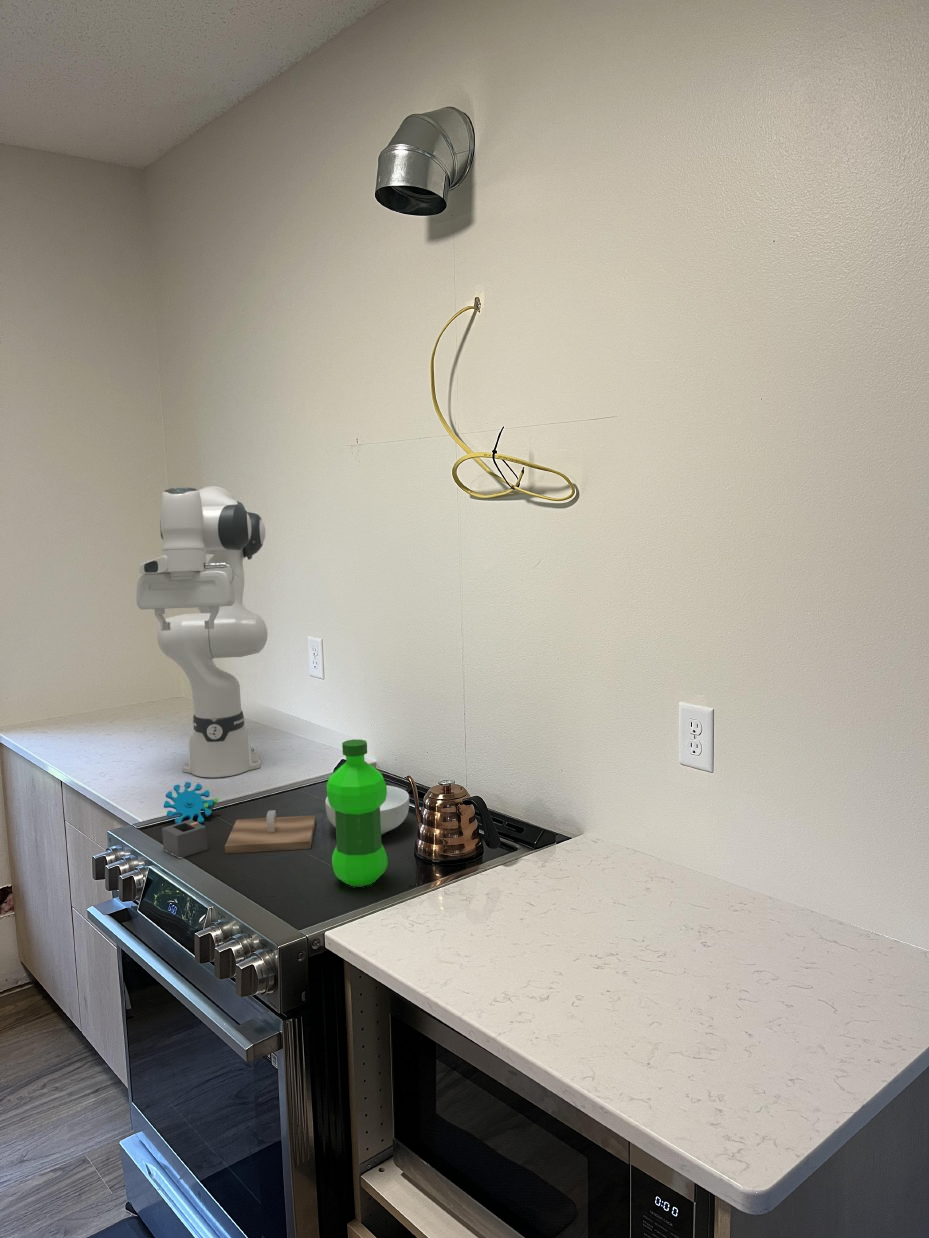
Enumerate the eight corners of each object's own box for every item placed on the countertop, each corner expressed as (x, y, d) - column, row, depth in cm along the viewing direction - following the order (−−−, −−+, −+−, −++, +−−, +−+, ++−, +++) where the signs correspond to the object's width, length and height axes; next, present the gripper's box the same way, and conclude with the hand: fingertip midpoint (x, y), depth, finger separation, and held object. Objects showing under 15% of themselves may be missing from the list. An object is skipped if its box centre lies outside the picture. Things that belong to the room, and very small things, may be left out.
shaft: (269, 827, 183) (268, 810, 183) (276, 827, 183) (275, 810, 183) (267, 832, 180) (266, 815, 180) (274, 832, 180) (273, 815, 180)
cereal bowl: (388, 851, 174) (387, 815, 173) (311, 841, 180) (309, 806, 178) (423, 819, 189) (422, 787, 188) (351, 811, 195) (349, 779, 194)
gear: (164, 824, 186) (163, 780, 192) (161, 837, 190) (160, 794, 196) (220, 822, 190) (217, 779, 196) (215, 835, 195) (213, 793, 200)
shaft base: (237, 826, 188) (236, 819, 188) (315, 822, 190) (315, 815, 189) (225, 853, 174) (224, 845, 174) (310, 848, 176) (309, 841, 176)
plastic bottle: (337, 868, 166) (331, 734, 163) (395, 869, 165) (390, 734, 161) (323, 893, 156) (316, 751, 153) (384, 894, 155) (379, 751, 152)
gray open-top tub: (163, 850, 177) (161, 826, 176) (192, 841, 181) (190, 818, 180) (178, 858, 173) (177, 834, 172) (207, 849, 177) (206, 825, 176)
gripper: (237, 562, 196) (240, 627, 196) (144, 566, 197) (147, 630, 198) (228, 561, 190) (231, 628, 190) (131, 565, 191) (134, 632, 191)
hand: (187, 629), depth 194 cm, fingers open, 8 cm apart
